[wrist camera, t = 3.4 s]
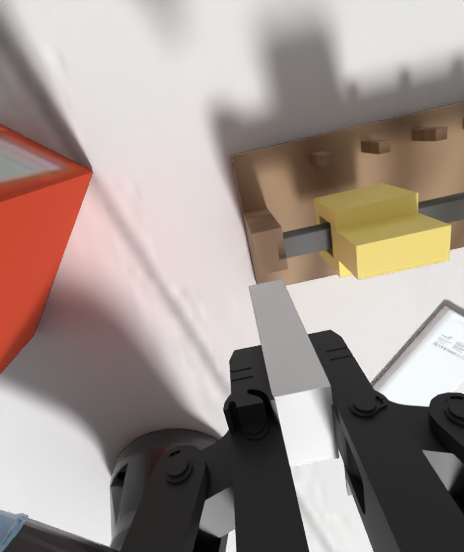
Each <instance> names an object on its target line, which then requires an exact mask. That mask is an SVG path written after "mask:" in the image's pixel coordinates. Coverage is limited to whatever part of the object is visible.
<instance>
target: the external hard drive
mask: <svg viewBox="0 0 464 552" xmlns="http://www.w3.org/2000/svg"><path fill="white" fill-rule="evenodd" d="M463 381H464V316H462V315H461V314H459V313H457V312H455V311H453V310H452V309H450V308H448V307H446V306H443V308H442V309H441V310H440V311H439V312H438V313H437V314H436V315H435V317H434V318H433V319H432V320H431V321H430V322H429V323H428V325H427V326H426V327H425V328H424V329H423V330H422V331H421V332H420V334H419V335H418V336H417V337H416V338H415V339H414V340H413V342H412V343H411V344H410V345H409V346H408V347H407V348H406V350H405V351H404V352H403V353H402V354H401V355H400V356H399V357H398V359H397V360H396V361H395V362H394V363H393V364H392V365H391V366H390V368H389V369H388V370H387V371H386V372H385V373H384V374H383V376H382V377H381V378H380V379H379V380H378V381H377V382H376V384H375V385H374V386H373V388H374V390H376V391H378V392H380V393H381V394H383V395H384V396H385V397H386V398H387V399H388V400H389V401H392V402H395V403H398V404H404V405H414V406H428V407H429V404H430V401H431V399H433V398H434V397H435V396H437V395H438V394H442V393H447V392H453V391H454V390H455V389H456V388H457V387H458V386H459V385H460V384H461V383H462V382H463Z"/></svg>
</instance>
